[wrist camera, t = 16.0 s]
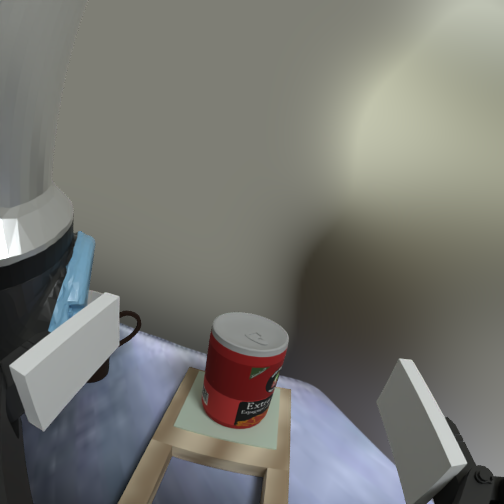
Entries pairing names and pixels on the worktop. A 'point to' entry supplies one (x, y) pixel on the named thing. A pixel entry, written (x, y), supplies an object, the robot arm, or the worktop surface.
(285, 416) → the board
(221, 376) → the canned food
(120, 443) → the worktop surface
